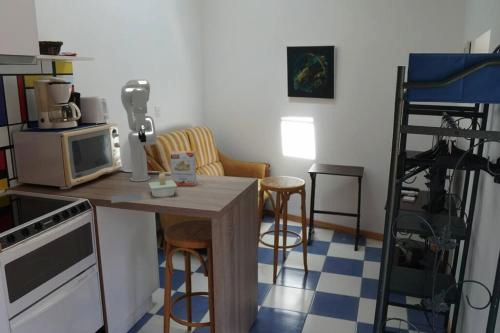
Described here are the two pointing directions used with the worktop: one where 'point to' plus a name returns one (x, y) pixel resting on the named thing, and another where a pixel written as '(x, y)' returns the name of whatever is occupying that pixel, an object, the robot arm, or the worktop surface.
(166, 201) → the worktop surface
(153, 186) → the cover board
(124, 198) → the mat
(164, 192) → the bowl
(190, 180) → the cracker box
